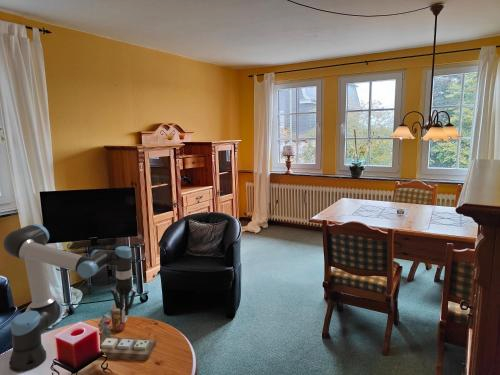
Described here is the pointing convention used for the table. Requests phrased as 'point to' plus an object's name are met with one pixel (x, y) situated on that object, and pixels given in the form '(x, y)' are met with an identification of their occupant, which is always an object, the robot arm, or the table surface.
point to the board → (129, 353)
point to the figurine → (105, 326)
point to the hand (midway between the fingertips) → (124, 320)
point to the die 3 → (141, 345)
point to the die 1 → (109, 343)
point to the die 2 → (125, 344)
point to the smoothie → (117, 318)
